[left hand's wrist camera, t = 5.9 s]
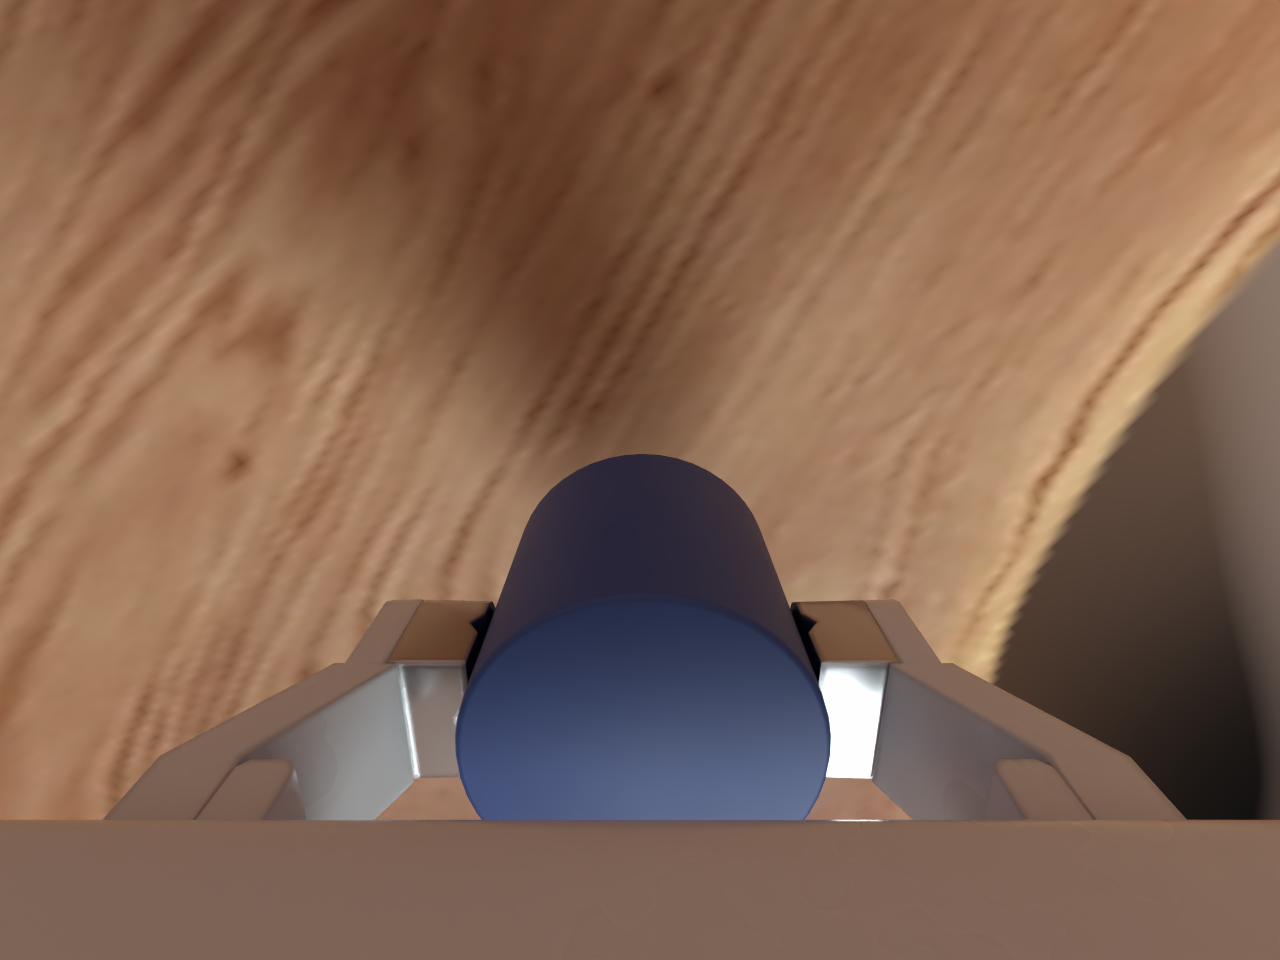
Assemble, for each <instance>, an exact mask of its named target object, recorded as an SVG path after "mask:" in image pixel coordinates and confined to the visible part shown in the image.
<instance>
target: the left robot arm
mask: <svg viewBox="0 0 1280 960" xmlns="http://www.w3.org/2000/svg"><path fill="white" fill-rule="evenodd" d="M790 610H791V613H792V616H793V618H794V621H795V623H796V626H797V629H798V631H799V634H800V637H801V639H802V642H803V645H804V647H805V650H806V652H807V655H808V658H809V660H810V663H811V666H812V668H813V671H814V674H815V676H816V679H817V682H818V684H819V687H820V689H821V692H822V695H823V698H824V701H825V704H826V708H827V711H828V714H829V721H830V729H831V755H830V760H829V765H828V770H827V774H826V777H845V778H872V782H873V783H874V784H875V785H877V786H878V787H879V788H880V789H881V790H882V791H883V792H884V793H885V794H886V795H887V796H888V797H889V798H890V799H891V800H892V801H894V802H895V803H896V804H897V805H898V806H899V807H900V808H901V809H902V810H903V811H904V812H905V813H906V814H907V815H908V816H909V817H911V818H912V819H913V820H374V819H375V818H376V817H377V816H379V815H380V814H381V813H382V812H383V811H384V810H385V809H386V808H387V807H388V806H389V805H390V804H391V803H392V802H393V801H394V800H395V799H396V798H398V797H399V796H400V795H401V794H402V793H403V792H404V791H405V790H406V789H407V788H408V787H409V786H410V785H411V784H412V783H413V782H414V778H440V777H460V773H459V768H458V764H457V759H456V749H455V731H456V724H457V716H458V712H459V709H460V706H461V702H462V699H463V696H464V693H465V690H466V688H467V685H468V682H469V680H470V677H471V674H472V671H473V669H474V666H475V663H476V660H477V658H478V655H479V652H480V650H481V647H482V644H483V641H484V639H485V636H486V633H487V630H488V628H489V625H490V622H491V620H492V617H493V614H494V611H495V606H494V604H493V602H492V601H447V600H426V601H424V600H391V601H387V602H386V603H385V604H384V605H383V607H382V608H381V610H380V611H379V613H378V614H377V616H376V617H375V619H374V621H373V622H372V624H371V625H370V627H369V628H368V630H367V631H366V633H365V634H364V636H363V637H362V639H361V640H360V642H359V643H358V645H357V646H356V648H355V649H354V651H353V652H352V654H351V655H350V657H349V658H348V660H347V661H346V663H334V664H332V665H330V666H329V667H327V668H325V669H323V670H321V671H319V672H317V673H315V674H313V675H312V676H310V677H308V678H306V679H304V680H302V681H300V682H298V683H296V684H295V685H293V686H291V687H289V688H287V689H285V690H283V691H281V692H279V693H278V694H276V695H274V696H272V697H270V698H268V699H266V700H264V701H263V702H261V703H259V704H257V705H255V706H253V707H251V708H249V709H247V710H246V711H244V712H242V713H240V714H238V715H236V716H234V717H232V718H230V719H229V720H227V721H225V722H223V723H221V724H219V725H217V726H215V727H214V728H212V729H210V730H208V731H206V732H204V733H202V734H200V735H198V736H197V737H195V738H193V739H191V740H189V741H187V742H185V743H183V744H181V745H180V746H178V747H176V748H174V749H172V750H170V751H168V752H166V753H164V754H163V755H161V756H159V757H158V758H157V760H156V761H155V762H154V763H153V764H152V765H151V766H150V767H149V769H148V770H147V771H146V772H145V773H144V774H143V775H142V776H141V778H140V779H139V780H138V781H137V782H136V783H135V784H134V785H133V786H132V788H131V789H130V790H129V791H128V792H127V793H126V794H125V795H124V797H123V798H122V799H121V800H120V801H119V802H118V803H117V804H116V806H115V807H114V808H113V809H112V810H111V811H110V812H109V813H108V814H107V816H106V817H105V818H104V819H103V820H0V960H1280V820H1186V819H1185V818H1184V816H1183V815H1182V814H1181V813H1180V812H1179V811H1178V810H1177V809H1176V807H1175V806H1174V805H1173V804H1172V803H1171V802H1170V801H1169V800H1168V799H1167V797H1166V796H1165V795H1164V794H1163V793H1162V792H1161V791H1160V790H1159V789H1158V788H1157V786H1156V785H1155V784H1154V783H1153V782H1152V781H1151V780H1150V779H1149V778H1148V776H1147V775H1146V774H1145V773H1144V772H1143V771H1142V770H1141V769H1140V768H1139V766H1138V765H1137V764H1136V763H1135V762H1134V761H1133V760H1132V759H1131V758H1130V757H1129V756H1127V755H1125V754H1123V753H1121V752H1119V751H1118V750H1116V749H1114V748H1112V747H1110V746H1108V745H1106V744H1104V743H1102V742H1100V741H1099V740H1097V739H1095V738H1093V737H1091V736H1089V735H1087V734H1085V733H1083V732H1082V731H1080V730H1078V729H1076V728H1074V727H1072V726H1070V725H1068V724H1066V723H1064V722H1063V721H1061V720H1059V719H1057V718H1055V717H1053V716H1051V715H1049V714H1047V713H1045V712H1044V711H1042V710H1040V709H1038V708H1036V707H1034V706H1032V705H1030V704H1028V703H1027V702H1025V701H1023V700H1021V699H1019V698H1017V697H1015V696H1013V695H1011V694H1009V693H1008V692H1006V691H1004V690H1002V689H1000V688H998V687H996V686H994V685H992V684H990V683H989V682H987V681H985V680H983V679H981V678H979V677H977V676H975V675H973V674H972V673H970V672H968V671H966V670H964V669H962V668H960V667H958V666H956V665H954V664H953V663H941V662H940V660H939V659H938V657H937V656H936V654H935V653H934V652H933V650H932V649H931V647H930V646H929V644H928V643H927V641H926V640H925V638H924V637H923V636H922V634H921V633H920V631H919V630H918V628H917V627H916V625H915V624H914V622H913V621H912V620H911V618H910V617H909V615H908V614H907V612H906V611H905V609H904V608H903V606H902V605H901V604H900V602H898V601H896V600H894V599H888V600H864V601H863V600H859V601H818V602H794V603H792V604H791V608H790Z"/></svg>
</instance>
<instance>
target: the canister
mask: <svg viewBox="0 0 1280 960" xmlns="http://www.w3.org/2000/svg"><path fill="white" fill-rule="evenodd" d="M455 749H456V759H457V764H458V768H459V773H460V778H461V780H462V783H463V786H464V788H465V791H466V794H467V796H468V798H469V800H470V802H471V803H472V805H473V807H474V809H475V811H476V812H477V814H478V815H479V816H480V818H481V819H482V820H804V819H805V818H806V817H807V815H808V814H809V813H810V811H811V809H812V807H813V805H814V804H815V802H816V800H817V798H818V797H819V794H820V792H821V789H822V786H823V784H824V781H825V778H826V774H827V770H828V765H829V760H830V755H831V729H830V721H829V714H828V711H827V708H826V704H825V701H824V698H823V695H822V692H821V689H820V687H819V684H818V682H817V679H816V676H815V674H814V671H813V668H812V666H811V663H810V660H809V658H808V655H807V652H806V650H805V647H804V645H803V642H802V639H801V637H800V634H799V631H798V629H797V626H796V623H795V621H794V618H793V616H792V613H791V610H790V608H789V605H788V602H787V600H786V597H785V594H784V592H783V589H782V587H781V584H780V581H779V579H778V576H777V573H776V571H775V568H774V565H773V563H772V560H771V558H770V555H769V552H768V550H767V547H766V544H765V542H764V539H763V536H762V534H761V531H760V528H759V526H758V524H757V522H756V520H755V518H754V516H753V514H752V512H751V511H750V509H749V508H748V506H747V505H746V503H745V502H744V501H743V500H742V499H741V497H740V496H739V495H738V494H737V493H736V492H735V491H734V490H733V489H732V488H731V487H730V486H729V485H727V484H726V483H725V482H724V481H723V480H721V479H720V478H718V477H717V476H715V475H714V474H712V473H711V472H709V471H707V470H705V469H703V468H701V467H699V466H697V465H695V464H692V463H689V462H686V461H683V460H680V459H677V458H672V457H666V456H661V455H648V454H636V455H623V456H618V457H613V458H608V459H605V460H602V461H598V462H595V463H592V464H590V465H588V466H586V467H584V468H582V469H579V470H577V471H576V472H574V473H572V474H571V475H569V476H568V477H566V478H565V479H563V480H562V481H561V482H560V483H558V484H557V485H556V486H555V487H554V488H552V489H551V490H550V491H549V492H548V494H547V495H546V496H545V497H544V498H543V499H542V500H541V501H540V503H539V504H538V506H537V507H536V509H535V510H534V512H533V513H532V515H531V517H530V519H529V521H528V523H527V525H526V527H525V530H524V532H523V535H522V538H521V541H520V543H519V546H518V549H517V551H516V554H515V557H514V560H513V562H512V565H511V568H510V571H509V573H508V576H507V579H506V581H505V584H504V587H503V590H502V592H501V595H500V598H499V601H498V603H497V606H496V609H495V611H494V614H493V617H492V620H491V622H490V625H489V628H488V630H487V633H486V636H485V639H484V641H483V644H482V647H481V650H480V652H479V655H478V658H477V660H476V663H475V666H474V669H473V671H472V674H471V677H470V680H469V682H468V685H467V688H466V690H465V693H464V696H463V699H462V702H461V706H460V709H459V712H458V716H457V724H456V731H455Z"/></svg>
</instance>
